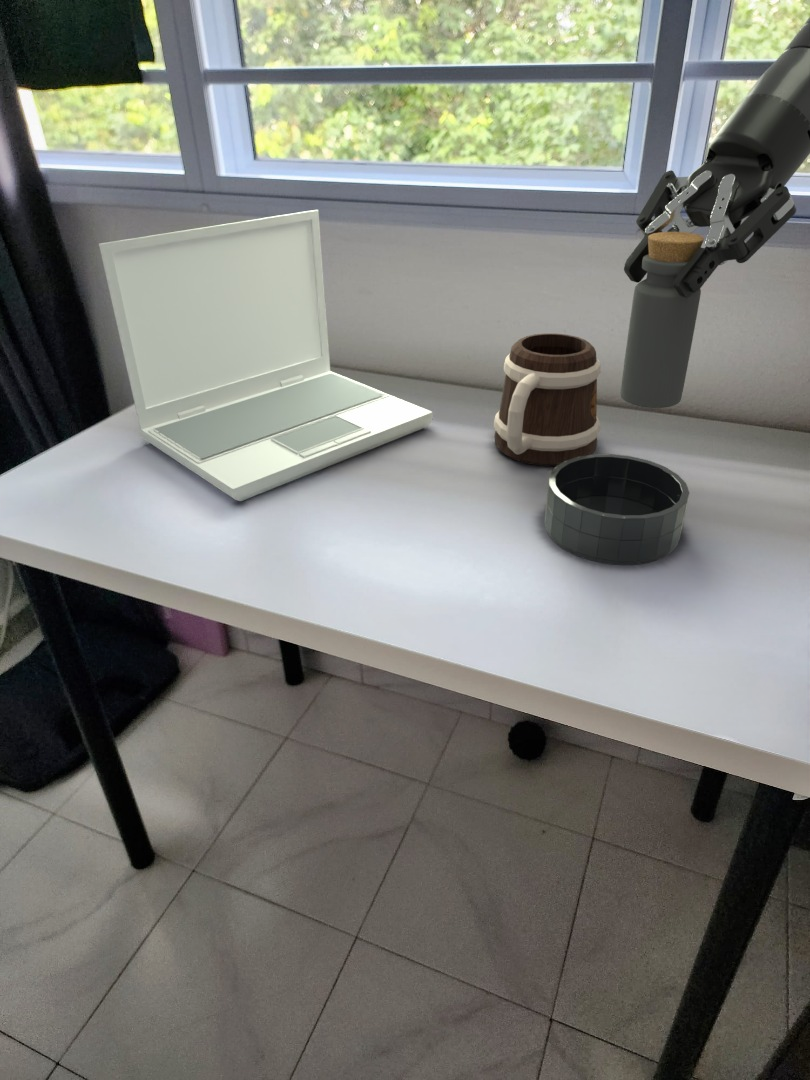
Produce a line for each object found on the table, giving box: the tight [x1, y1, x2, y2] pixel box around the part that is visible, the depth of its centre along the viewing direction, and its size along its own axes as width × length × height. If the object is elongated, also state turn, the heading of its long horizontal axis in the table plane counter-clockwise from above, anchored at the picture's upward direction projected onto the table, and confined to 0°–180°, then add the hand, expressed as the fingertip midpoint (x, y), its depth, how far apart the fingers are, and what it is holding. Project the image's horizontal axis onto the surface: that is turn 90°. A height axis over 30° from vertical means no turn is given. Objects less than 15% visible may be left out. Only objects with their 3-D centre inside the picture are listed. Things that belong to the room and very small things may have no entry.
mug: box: [493, 333, 602, 467], centre depth 103 cm, size 20×15×15 cm
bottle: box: [620, 231, 705, 409], centre depth 70 cm, size 6×6×15 cm
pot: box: [544, 453, 690, 566], centre depth 88 cm, size 16×16×6 cm
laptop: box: [98, 209, 434, 502], centre depth 106 cm, size 35×26×28 cm
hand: (654, 283), depth 67 cm, fingers closed on bottle, 5 cm apart
